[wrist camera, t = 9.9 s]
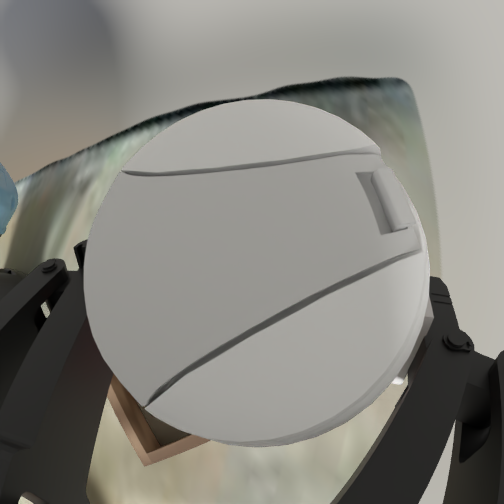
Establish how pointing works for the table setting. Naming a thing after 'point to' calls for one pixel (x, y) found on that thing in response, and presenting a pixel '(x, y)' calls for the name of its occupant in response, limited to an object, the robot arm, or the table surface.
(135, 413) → the walnut collar
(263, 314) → the paper cup
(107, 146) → the table surface
